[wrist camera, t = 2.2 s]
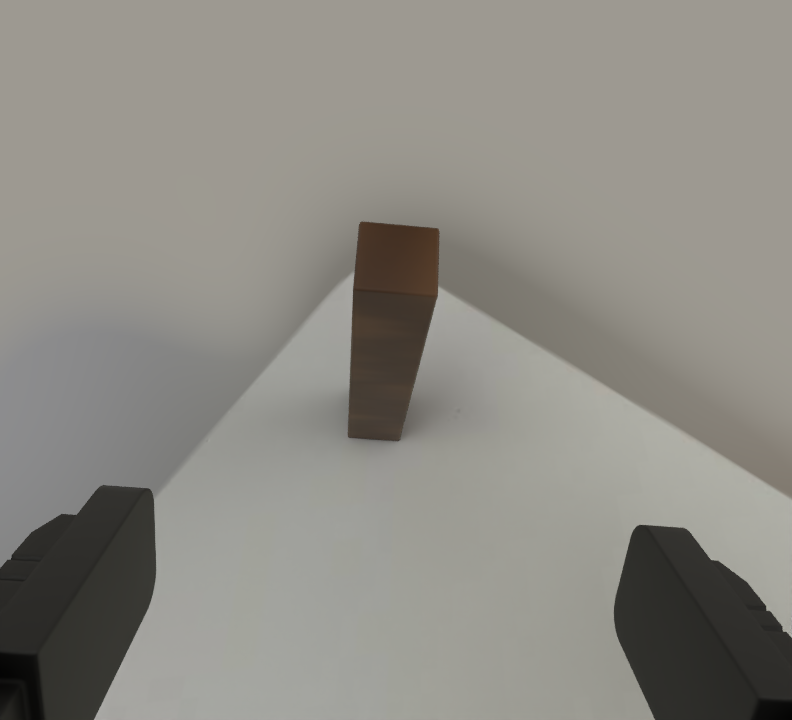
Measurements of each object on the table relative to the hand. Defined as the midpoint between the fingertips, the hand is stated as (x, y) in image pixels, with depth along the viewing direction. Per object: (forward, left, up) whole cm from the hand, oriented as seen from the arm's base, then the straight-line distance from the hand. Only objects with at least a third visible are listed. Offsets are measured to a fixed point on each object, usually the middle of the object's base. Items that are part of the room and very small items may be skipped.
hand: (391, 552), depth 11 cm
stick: (-5, +8, -18) cm, 20 cm away
